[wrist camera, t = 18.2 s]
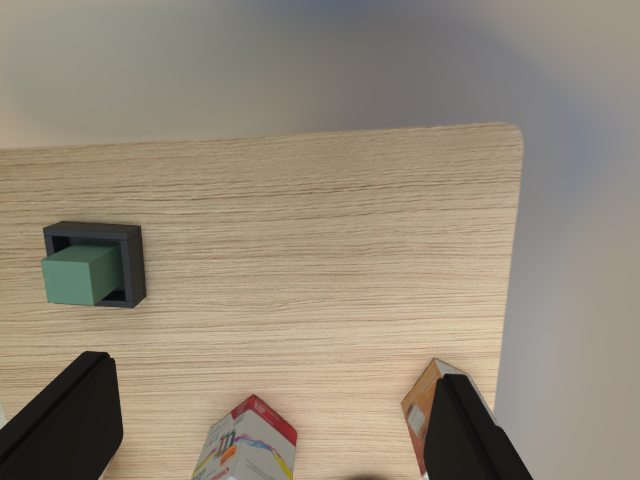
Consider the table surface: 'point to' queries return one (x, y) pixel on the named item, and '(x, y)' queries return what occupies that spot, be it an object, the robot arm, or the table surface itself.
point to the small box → (428, 406)
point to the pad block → (83, 273)
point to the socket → (124, 235)
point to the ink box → (248, 446)
